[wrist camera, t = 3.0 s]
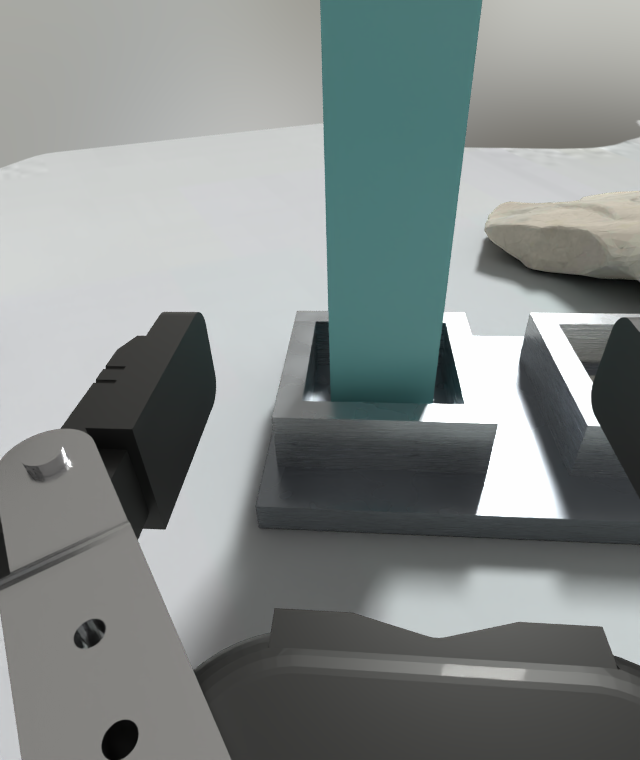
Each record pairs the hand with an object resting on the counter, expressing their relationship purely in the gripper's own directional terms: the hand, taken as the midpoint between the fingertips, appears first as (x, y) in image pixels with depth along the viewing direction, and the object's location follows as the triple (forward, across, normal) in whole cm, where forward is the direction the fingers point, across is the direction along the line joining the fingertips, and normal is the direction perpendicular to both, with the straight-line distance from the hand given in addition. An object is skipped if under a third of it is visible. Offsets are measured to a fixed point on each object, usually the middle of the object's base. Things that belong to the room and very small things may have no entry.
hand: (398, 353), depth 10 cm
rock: (+28, -15, +10) cm, 33 cm away
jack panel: (+9, -6, +10) cm, 15 cm away
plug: (+9, 0, +9) cm, 13 cm away
